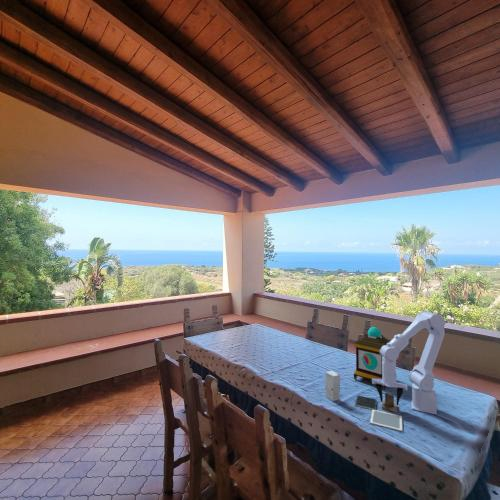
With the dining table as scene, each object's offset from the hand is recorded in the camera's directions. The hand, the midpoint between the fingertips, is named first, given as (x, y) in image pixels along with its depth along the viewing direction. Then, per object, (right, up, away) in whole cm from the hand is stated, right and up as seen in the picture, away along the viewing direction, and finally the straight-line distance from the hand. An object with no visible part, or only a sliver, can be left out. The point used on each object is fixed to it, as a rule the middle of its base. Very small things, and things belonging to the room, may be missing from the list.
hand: (389, 402), depth 129 cm
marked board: (-6, -2, -10) cm, 12 cm away
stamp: (0, -3, 0) cm, 3 cm away
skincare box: (-24, -3, +9) cm, 25 cm away
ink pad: (-9, -3, +4) cm, 10 cm away
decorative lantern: (+7, -4, +30) cm, 31 cm away
